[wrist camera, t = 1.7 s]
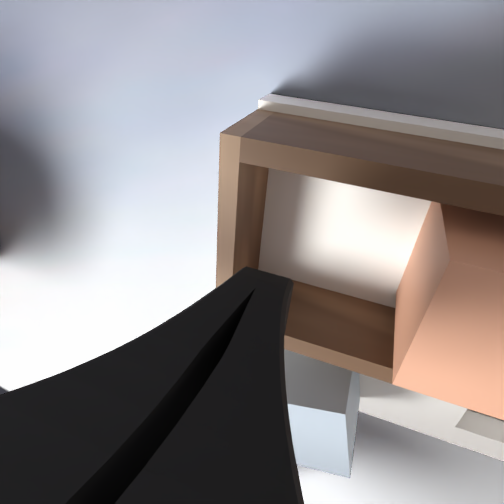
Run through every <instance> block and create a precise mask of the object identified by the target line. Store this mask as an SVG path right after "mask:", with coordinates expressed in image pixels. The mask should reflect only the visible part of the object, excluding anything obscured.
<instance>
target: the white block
mask: <svg viewBox="0 0 504 504" xmlns="http://www.w3.org/2000/svg"><path fill="white" fill-rule="evenodd" d="M284 362H285V381H286V394H287V403H288V412H289V420H290V427H291V435H292V442H293V447H294V453H295V458H296V464H297V465H299V466H303V467H307V468H311V469H315V470H319V471H323V472H327V473H331V474H335V475H339V476H343V477H347V478H350V475H351V467H352V459H353V451H354V443H355V435H356V427H357V419H358V411H359V403H360V381H359V373H357V372H354V371H351V370H347V369H344V368H341V367H338V366H335V365H332V364H329V363H326V362H323V361H320V360H317V359H313V358H310V357H307V356H304V355H301V354H298V353H295V352H292V351H289V350H286V349H284Z"/></svg>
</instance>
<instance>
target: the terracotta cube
mask: <svg viewBox="0 0 504 504" xmlns="http://www.w3.org/2000/svg"><path fill="white" fill-rule="evenodd" d="M392 384H393V385H396V386H399V387H402V388H405V389H408V390H411V391H415V392H418V393H421V394H424V395H427V396H430V397H433V398H436V399H439V400H442V401H445V402H449V403H452V404H455V405H458V406H461V407H464V408H467V409H470V410H473V411H476V412H479V413H483V414H486V415H489V416H492V417H495V418H498V419H501V420H504V216H501V215H496V214H491V213H486V212H482V211H477V210H472V209H467V208H462V207H457V206H452V205H447V204H442V203H437V202H433V201H431V204H430V207H429V209H428V212H427V214H426V217H425V219H424V222H423V225H422V227H421V230H420V232H419V235H418V237H417V240H416V243H415V245H414V248H413V250H412V253H411V256H410V258H409V261H408V263H407V266H406V268H405V271H404V274H403V276H402V279H401V281H400V284H399V286H398V289H397V292H396V307H395V331H394V355H393V379H392Z"/></svg>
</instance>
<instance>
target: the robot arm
mask: <svg viewBox="0 0 504 504" xmlns="http://www.w3.org/2000/svg"><path fill="white" fill-rule="evenodd" d="M293 285H294V283H293V282H292V280H291V279H290V278H287V277H283V276H279V275H276V274H272V273H268V272H265V271H261V270H258V269H254V268H250V267H247V266H246V267H244V268H242V269H241V270H239V271H238V272H237V273H235V274H234V275H233V276H232V277H230V278H229V279H228V280H226V281H225V282H224V283H222V284H221V285H219V286H218V287H217V288H215V289H214V290H213V291H211V292H210V293H208V294H207V295H206V296H204V297H203V298H201V299H200V300H198V301H197V302H195V303H194V304H192V305H191V306H190V307H188V308H187V309H185V310H183V311H182V312H180V313H179V314H177V315H175V316H174V317H172V318H171V319H169V320H167V321H166V322H164V323H162V324H161V325H159V326H157V327H156V328H154V329H152V330H151V331H149V332H147V333H145V334H143V335H142V336H140V337H138V338H136V339H134V340H132V341H130V342H128V343H126V344H124V345H122V346H120V347H118V348H116V349H114V350H112V351H110V352H108V353H106V354H104V355H101V356H99V357H97V358H95V359H93V360H90V361H88V362H86V363H83V364H81V365H79V366H76V367H74V368H72V369H69V370H67V371H65V372H62V373H60V374H57V375H54V376H52V377H49V378H46V379H44V380H41V381H38V382H35V383H33V384H30V385H27V386H24V387H21V388H19V389H16V390H13V391H10V392H7V393H4V394H1V395H0V504H304V501H303V497H302V491H301V486H300V480H299V475H298V469H297V464H296V458H295V453H294V447H293V442H292V435H291V427H290V420H289V412H288V403H287V394H286V381H285V362H284V334H285V330H286V324H287V319H288V313H289V307H290V302H291V296H292V291H293Z"/></svg>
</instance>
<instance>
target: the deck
mask: <svg viewBox="0 0 504 504" xmlns="http://www.w3.org/2000/svg"><path fill="white" fill-rule="evenodd" d="M258 109H261V110H267V111H273V112H279V113H285V114H291V115H297V116H303V117H309V118H315V119H321V120H327V121H333V122H339V123H346V124H352V125H358V126H364V127H370V128H376V129H382V130H388V131H394V132H400V133H406V134H412V135H418V136H424V137H430V138H436V139H442V140H448V141H454V142H461V143H467V144H473V145H479V146H485V147H491V148H497V149H503V150H504V130H503V129H497V128H490V127H484V126H477V125H470V124H464V123H457V122H451V121H444V120H438V119H431V118H425V117H418V116H412V115H405V114H399V113H392V112H386V111H379V110H373V109H366V108H360V107H353V106H347V105H340V104H334V103H327V102H321V101H314V100H308V99H301V98H295V97H288V96H282V95H275V94H268V95H266V96H264V97H263V98H261V99H259V103H258ZM430 204H431V201H428V200H423V199H418V198H413V197H408V196H403V195H398V194H393V193H388V192H384V191H379V190H374V189H369V188H364V187H359V186H354V185H349V184H344V183H339V182H335V181H330V180H325V179H320V178H315V177H310V176H305V175H300V174H295V173H290V172H285V171H281V170H276V169H271V168H269V171H268V181H267V190H266V200H265V209H264V219H263V228H262V237H261V247H260V256H259V266H258V270H261V271H265V272H268V273H272V274H276V275H279V276H283V277H287V278H290V279H291V280H295V281H298V282H302V283H306V284H309V285H313V286H317V287H320V288H324V289H327V290H331V291H335V292H338V293H342V294H346V295H349V296H353V297H357V298H360V299H364V300H367V301H371V302H375V303H378V304H382V305H386V306H389V307H393V308H395V307H396V292H397V289H398V286H399V284H400V281H401V279H402V276H403V274H404V271H405V268H406V266H407V263H408V261H409V258H410V256H411V253H412V250H413V248H414V245H415V243H416V240H417V237H418V235H419V232H420V230H421V227H422V225H423V222H424V219H425V217H426V214H427V212H428V209H429V207H430ZM359 381H360V403H359V411H360V412H362V413H365V414H368V415H371V416H374V417H377V418H380V419H383V420H385V421H388V422H391V423H394V424H397V425H400V426H403V427H406V428H408V429H411V430H414V431H417V432H420V433H423V434H426V435H429V436H431V437H434V438H437V439H440V440H443V441H446V442H449V443H452V444H454V445H457V446H460V447H463V448H466V449H469V450H472V451H475V452H477V453H480V454H483V455H486V456H489V457H492V458H495V459H498V460H501V461H503V462H504V421H501V420H498V419H495V418H491V417H488V416H485V415H482V414H479V413H476V412H473V411H470V410H467V408H464V407H461V406H458V405H455V404H452V403H449V402H445V401H442V400H439V399H436V398H433V397H430V396H427V395H424V394H421V393H418V392H415V391H411V390H408V389H405V388H402V387H399V386H396V385H393V384H391V383H388V382H385V381H382V380H378V379H375V378H372V377H369V376H366V375H363V374H360V373H359Z"/></svg>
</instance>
